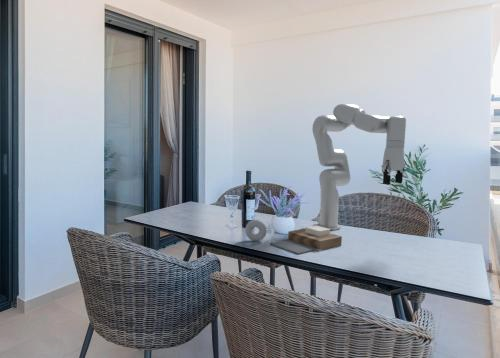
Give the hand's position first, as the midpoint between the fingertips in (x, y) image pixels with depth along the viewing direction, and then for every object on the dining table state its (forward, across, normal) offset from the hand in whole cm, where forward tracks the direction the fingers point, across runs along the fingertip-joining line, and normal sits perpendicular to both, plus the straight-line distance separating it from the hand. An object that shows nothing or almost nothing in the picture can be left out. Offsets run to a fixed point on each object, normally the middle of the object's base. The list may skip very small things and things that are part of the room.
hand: (392, 183), depth 167 cm
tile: (+23, +22, -23) cm, 40 cm away
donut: (+29, +45, -40) cm, 67 cm away
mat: (+28, +38, -23) cm, 53 cm away
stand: (+28, +24, -23) cm, 44 cm away
